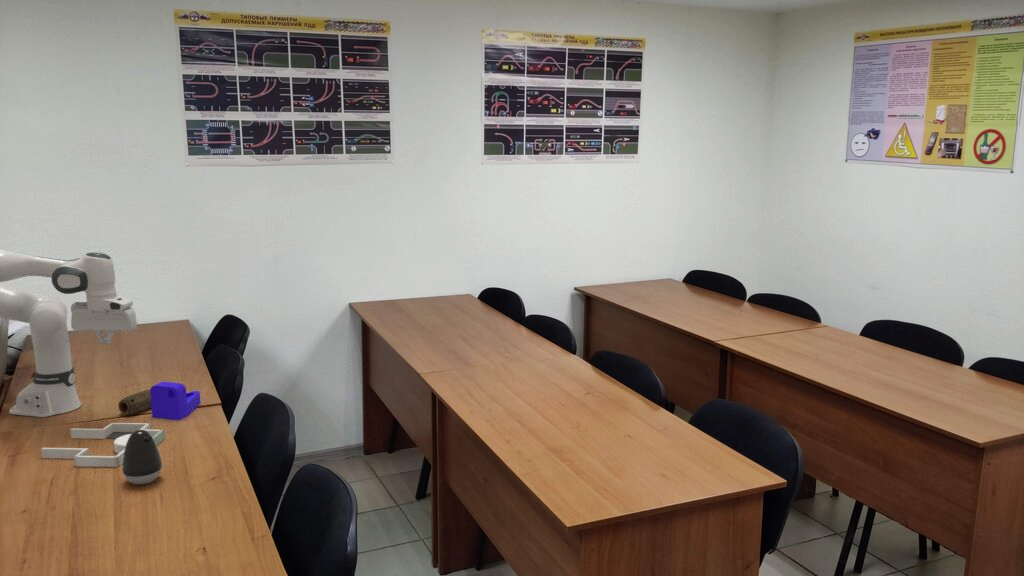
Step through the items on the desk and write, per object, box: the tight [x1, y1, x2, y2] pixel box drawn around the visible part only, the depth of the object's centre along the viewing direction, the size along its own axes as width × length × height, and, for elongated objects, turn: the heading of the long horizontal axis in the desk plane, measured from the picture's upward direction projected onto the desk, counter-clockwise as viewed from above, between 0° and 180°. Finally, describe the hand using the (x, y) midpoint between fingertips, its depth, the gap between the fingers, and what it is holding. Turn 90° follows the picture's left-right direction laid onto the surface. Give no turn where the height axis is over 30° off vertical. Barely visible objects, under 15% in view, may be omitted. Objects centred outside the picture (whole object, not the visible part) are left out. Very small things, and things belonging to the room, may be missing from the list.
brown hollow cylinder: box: [118, 389, 152, 416], centre depth 286 cm, size 15×7×7 cm, turn 162°
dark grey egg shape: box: [121, 430, 163, 485], centre depth 228 cm, size 10×10×15 cm
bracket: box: [149, 381, 201, 421], centre depth 286 cm, size 18×11×12 cm, turn 165°
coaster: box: [113, 434, 131, 455], centre depth 252 cm, size 10×10×4 cm
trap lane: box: [40, 422, 166, 468], centre depth 252 cm, size 30×28×3 cm
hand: (105, 343), depth 266 cm, fingers closed
